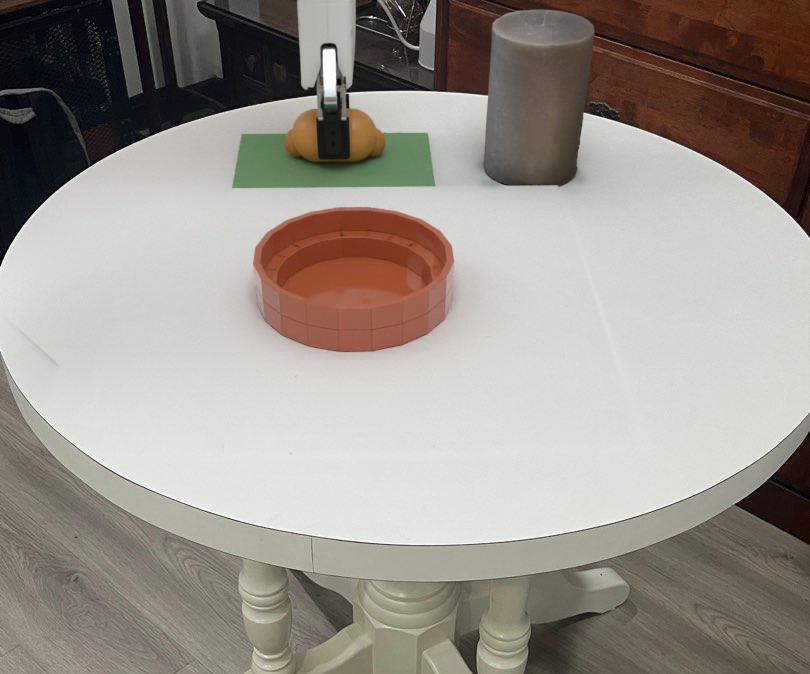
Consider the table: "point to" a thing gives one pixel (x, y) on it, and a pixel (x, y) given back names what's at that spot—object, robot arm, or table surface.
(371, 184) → the cloth
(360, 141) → the croissant
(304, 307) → the terracotta round dish
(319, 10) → the robot arm
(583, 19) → the pillar candle
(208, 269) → the table surface
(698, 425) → the table surface
